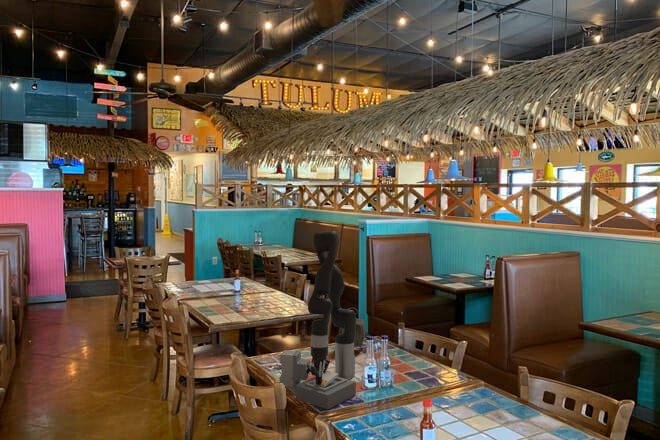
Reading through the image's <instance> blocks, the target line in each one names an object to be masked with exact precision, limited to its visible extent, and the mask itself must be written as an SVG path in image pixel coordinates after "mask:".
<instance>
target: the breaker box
mask: <svg viewBox="0 0 660 440" xmlns="http://www.w3.org/2000/svg"><path fill="white" fill-rule="evenodd" d="M315 380H316V376H314V377H312V378H310V379H309V378H308V379H306V381H305V380H304V381H302V382H300V384H298V385H296V388H295V400H297V401H300V402H304V403H307V404H310V405H313V406H317V407H319V408H323V409H326V410H330V409H333V408H334V407H335V406H337V405H340V404H342V403H344V402H346V401H347V400H349V399H351V398H352V397H355V396H356V395H357V381H355V380H352V379H344V378H340V377H337V378H335V379H334V380H333V381H332V382H331V383H330V384H328V385H327V386H326V387H325V388H324V387H321V386H317V385H314V381H315Z"/></svg>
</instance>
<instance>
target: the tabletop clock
mask: <svg viewBox="0 0 660 440" xmlns="http://www.w3.org/2000/svg"><path fill="white" fill-rule="evenodd" d="M347 309H348V310H355V311H356V313H355V315H356V316H357V314H358V313H359V310H358V309H357V308H355V307H347ZM344 329H345V328H340V327H338V334H342V333H344ZM365 337H366V324H365V322H364V320H363V319H360V318H356V326H355V337H354V347H359V349H360V351H363V350H364V348H363V347H362V345H363V343H364V341H365Z"/></svg>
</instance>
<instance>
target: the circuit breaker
mask: <svg viewBox="0 0 660 440" xmlns="http://www.w3.org/2000/svg"><path fill="white" fill-rule="evenodd" d="M301 353H302V352H301V350H290V349H284V350H283V351H282V352H280V354H279V356H280V357H279V364H281V372H280V373H281V374H280V376H279V384H280V383H283V384H284V385H285V386H286V387H285V388H295V389H296V385H298V384H300V383H302V382H301V381H304V382H305V381H307V380H308V379H309V377H310V375H311V372H310V370H309V369H308V365H311V363H310V362H311V360H310V359H306V358H302V354H301Z"/></svg>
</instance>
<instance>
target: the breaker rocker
mask: <svg viewBox="0 0 660 440" xmlns="http://www.w3.org/2000/svg"><path fill="white" fill-rule="evenodd" d="M337 377H338V373H335V371H334V372H333V371H329V370H326V373H324V374H323V376H322V383H321V385H317V386H321V387H324V388H325V387H326V386H327V385H328V384H330V383H331V382H332V381H333V380H334V379H335V378H337ZM314 385H316V380H315V381H314Z"/></svg>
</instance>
